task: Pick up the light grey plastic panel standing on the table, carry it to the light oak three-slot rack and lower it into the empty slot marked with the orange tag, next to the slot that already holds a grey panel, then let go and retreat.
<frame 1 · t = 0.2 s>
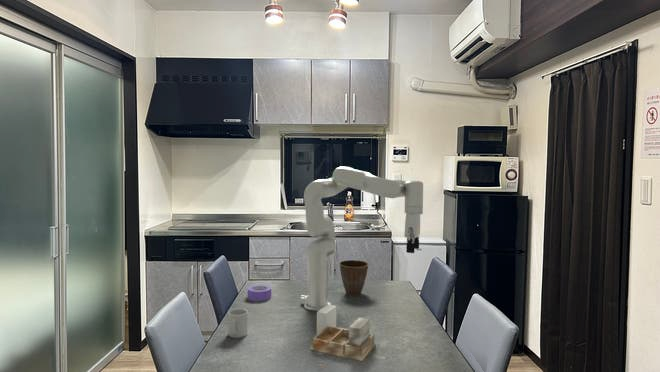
hand: (412, 250, 172), 31 cm above the table, fingers open, 9 cm apart
rack: (343, 347, 149), on the table
cup: (236, 336, 158), on the table
plant pot: (353, 294, 213), on the table
tape roll: (259, 298, 205), on the table
panel: (326, 330, 164), on the table
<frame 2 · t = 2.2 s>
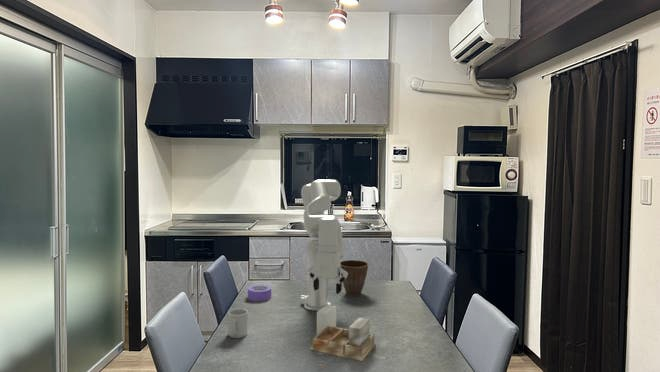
hand: (327, 291, 163), 16 cm above the table, fingers open, 9 cm apart
nothing on the table moved.
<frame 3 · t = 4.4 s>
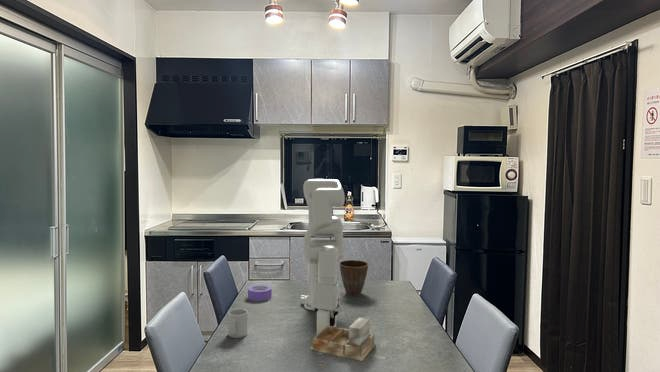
hand: (326, 324, 164), 2 cm above the table, fingers closed on panel, 4 cm apart
panel: (326, 330, 164), on the table, touching gripper
everything else where it was.
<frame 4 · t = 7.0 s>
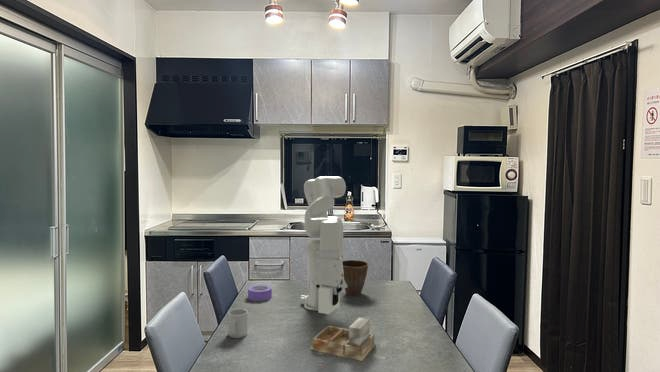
hand: (329, 302, 151), 16 cm above the table, fingers closed on panel, 4 cm apart
panel: (329, 309, 151), point 13 cm above the table, touching gripper
everything else where it was.
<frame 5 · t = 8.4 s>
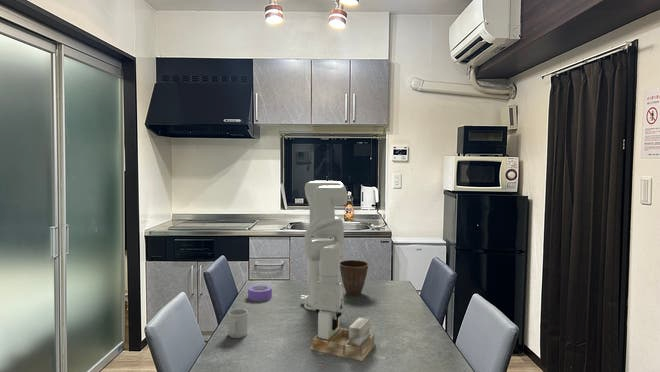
hand: (328, 327, 151), 6 cm above the table, fingers closed on panel, 4 cm apart
panel: (328, 333, 151), point 4 cm above the table, touching gripper
everything else where it was.
when the fingers open (5 cm above the table, at t = 9.4 s): panel drops 2 cm, resting on rack.
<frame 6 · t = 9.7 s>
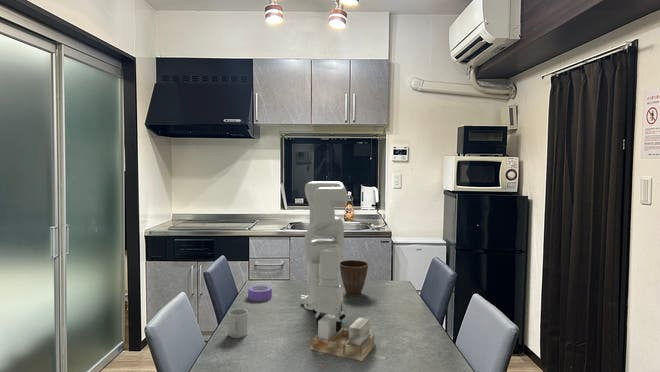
hand: (328, 328, 151), 6 cm above the table, fingers open, 7 cm apart
panel: (328, 341, 152), point 1 cm above the table, touching rack
everything else where it was.
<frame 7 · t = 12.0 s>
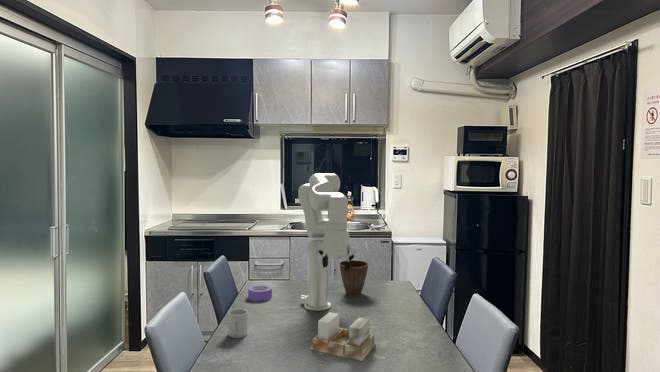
hand: (336, 268, 163), 25 cm above the table, fingers open, 9 cm apart
nothing on the table moved.
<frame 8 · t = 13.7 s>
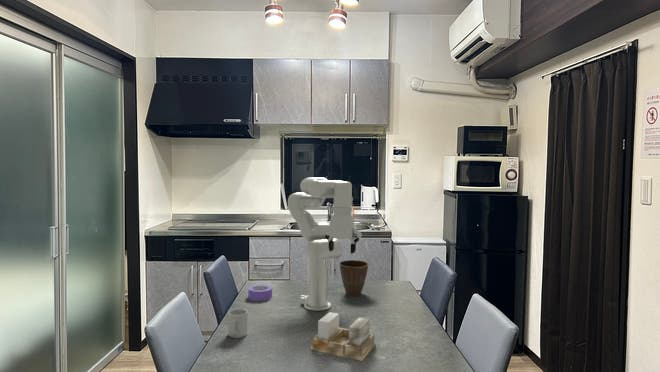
hand: (341, 251, 171), 30 cm above the table, fingers open, 9 cm apart
nothing on the table moved.
at the end: panel 0.0 cm from the target spot on the rack, point 1.1 cm above the rack's base; panel tilted 0°; the gripper is holding nothing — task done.
